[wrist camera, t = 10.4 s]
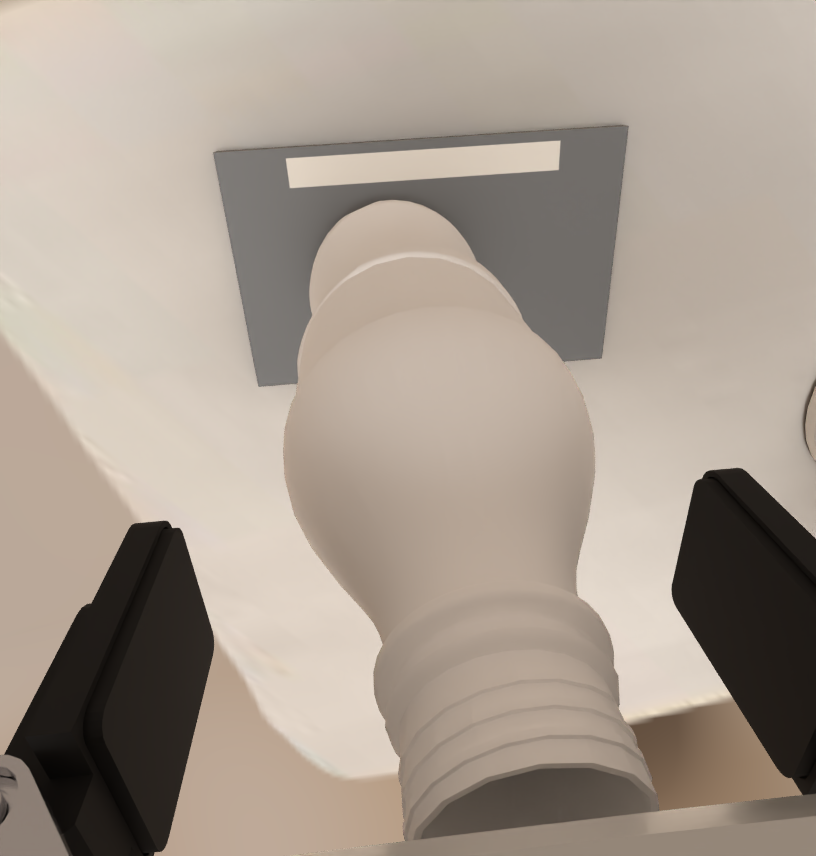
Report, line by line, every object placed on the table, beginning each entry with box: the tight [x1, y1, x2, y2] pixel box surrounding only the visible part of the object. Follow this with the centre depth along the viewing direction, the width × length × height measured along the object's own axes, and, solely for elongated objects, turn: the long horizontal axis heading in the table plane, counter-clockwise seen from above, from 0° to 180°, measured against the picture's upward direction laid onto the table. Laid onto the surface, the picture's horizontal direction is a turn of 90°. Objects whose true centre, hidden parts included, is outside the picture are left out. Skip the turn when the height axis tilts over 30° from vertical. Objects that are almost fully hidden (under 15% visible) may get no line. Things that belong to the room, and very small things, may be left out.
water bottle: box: [283, 200, 659, 841], centre depth 18 cm, size 7×7×25 cm
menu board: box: [213, 125, 628, 387], centre depth 29 cm, size 18×11×1 cm, turn 93°
